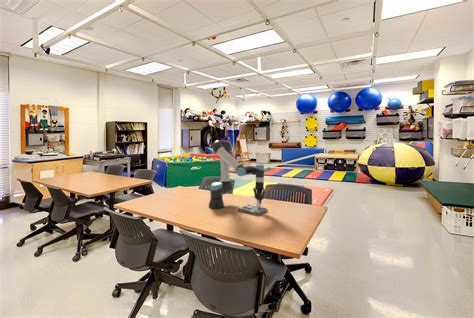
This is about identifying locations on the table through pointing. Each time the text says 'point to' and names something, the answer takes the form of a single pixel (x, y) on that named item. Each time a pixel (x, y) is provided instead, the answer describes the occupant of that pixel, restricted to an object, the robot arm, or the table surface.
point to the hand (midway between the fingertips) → (259, 206)
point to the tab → (254, 208)
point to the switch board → (248, 210)
